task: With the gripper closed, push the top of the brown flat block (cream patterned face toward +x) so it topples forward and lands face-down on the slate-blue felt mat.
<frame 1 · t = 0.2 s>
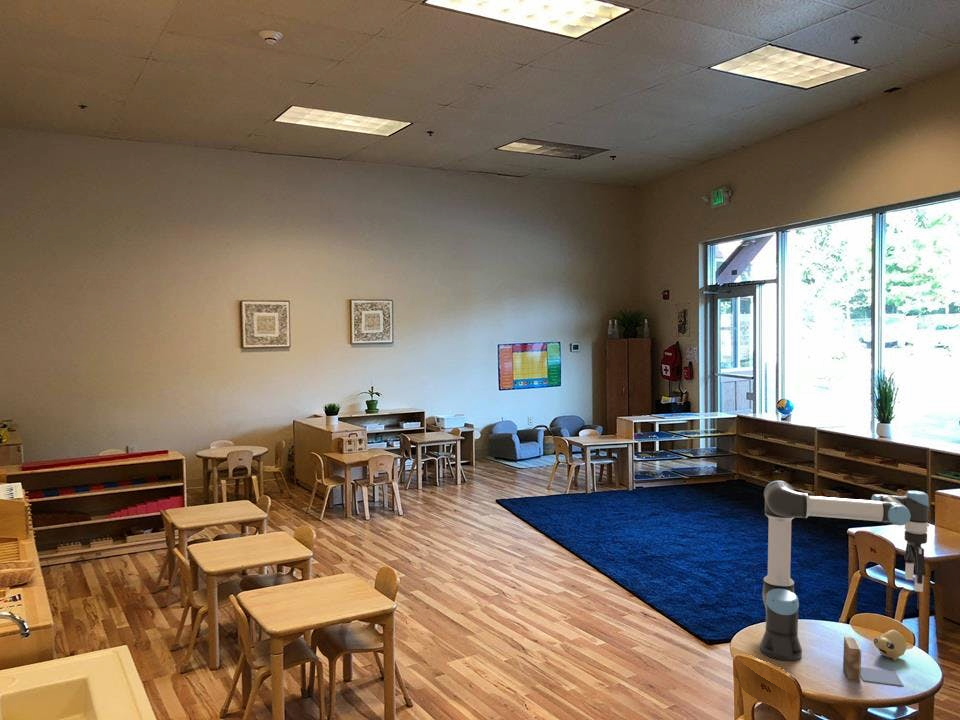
hand: (913, 585, 283), 28 cm above the table, fingers open, 13 cm apart
mat: (879, 676, 267), on the table
brown flat block: (851, 675, 268), on the table
beige rounded lump: (889, 658, 282), on the table
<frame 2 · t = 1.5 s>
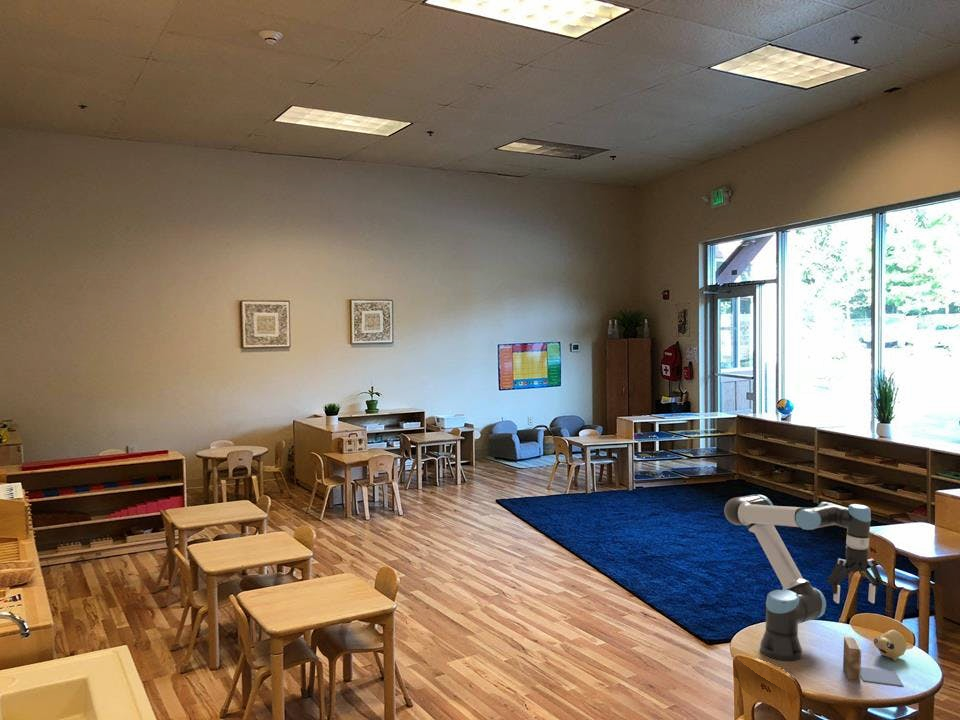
hand: (853, 602, 273), 25 cm above the table, fingers open, 13 cm apart
nothing on the table moved.
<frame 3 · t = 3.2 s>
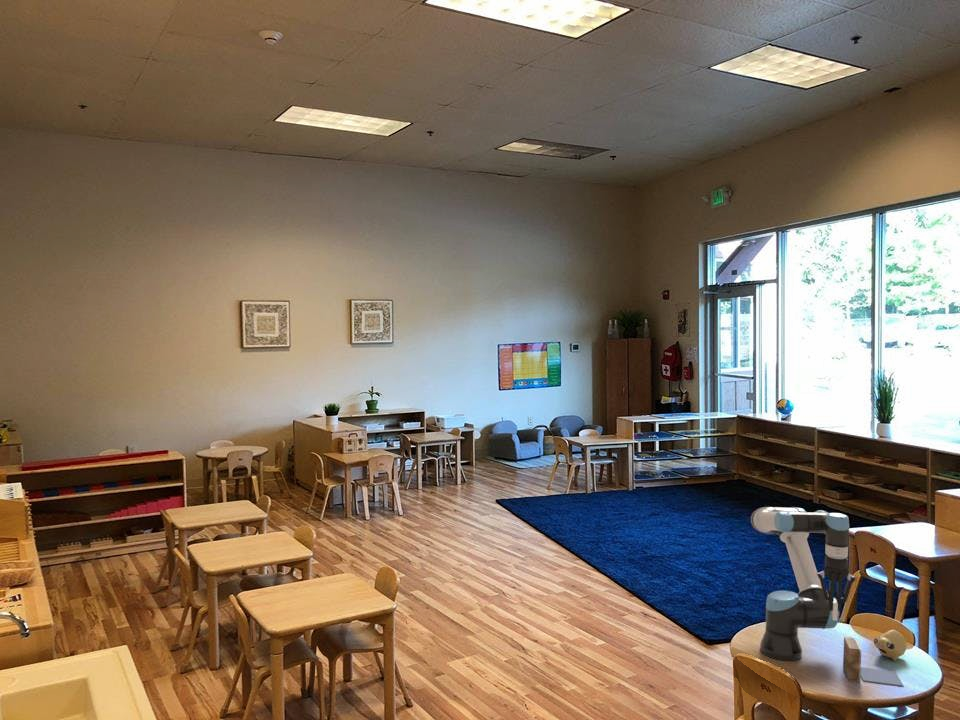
hand: (834, 619, 269), 20 cm above the table, fingers closed
nothing on the table moved.
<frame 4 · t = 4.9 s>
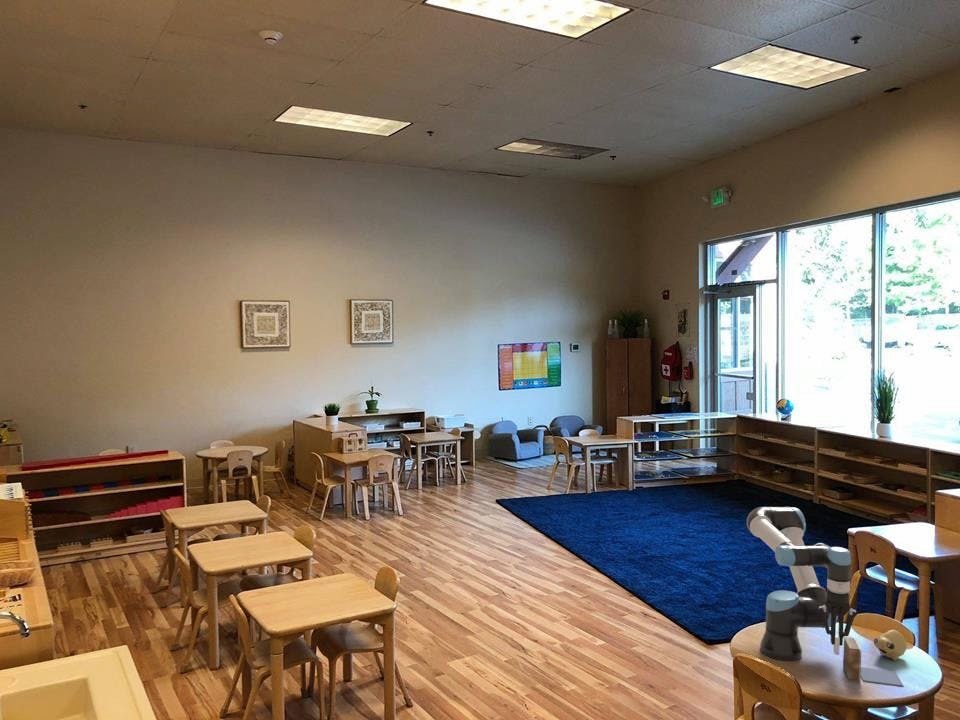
hand: (836, 653, 269), 8 cm above the table, fingers closed
nothing on the table moved.
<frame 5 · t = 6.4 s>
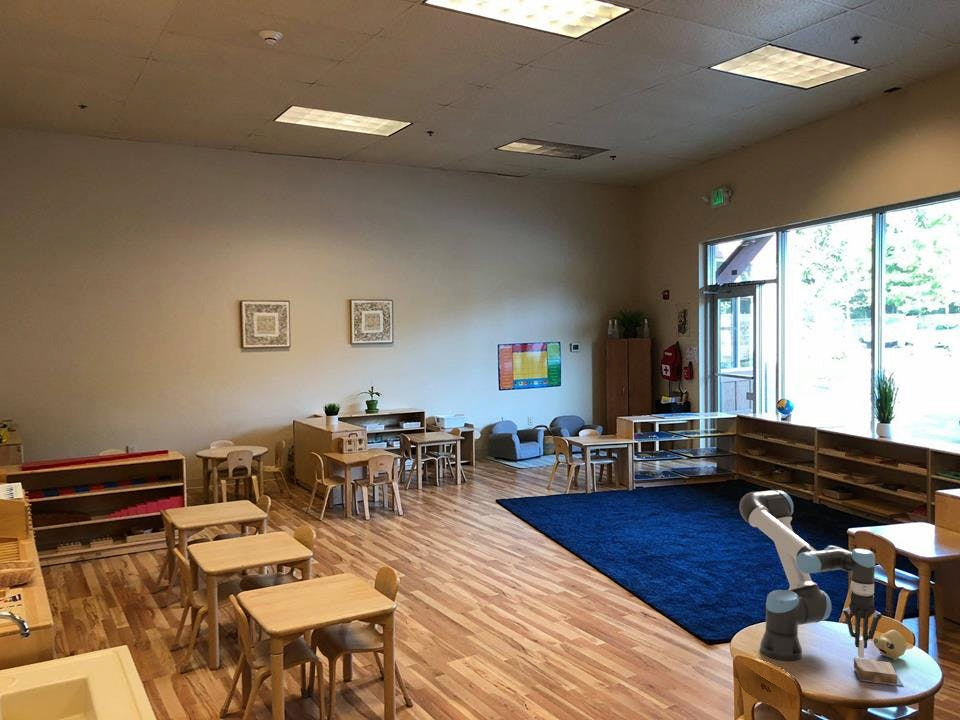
hand: (860, 656, 267), 8 cm above the table, fingers closed
brown flat block: (856, 669, 267), point 2 cm above the table, tilted 90°, touching mat
everything else where it was.
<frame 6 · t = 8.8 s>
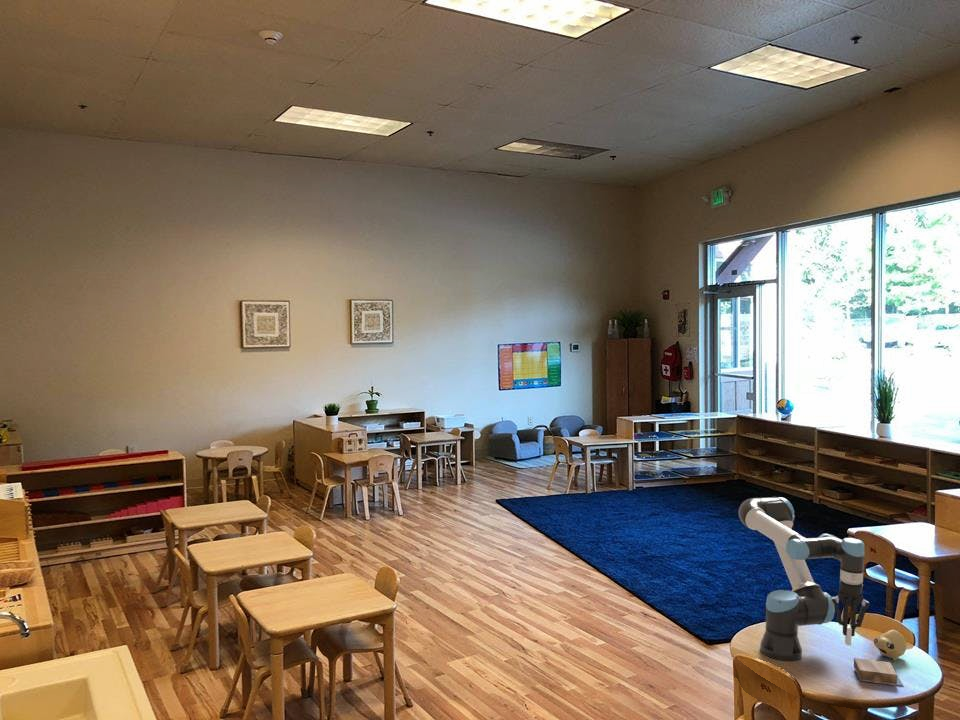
hand: (847, 643, 268), 11 cm above the table, fingers closed
nothing on the table moved.
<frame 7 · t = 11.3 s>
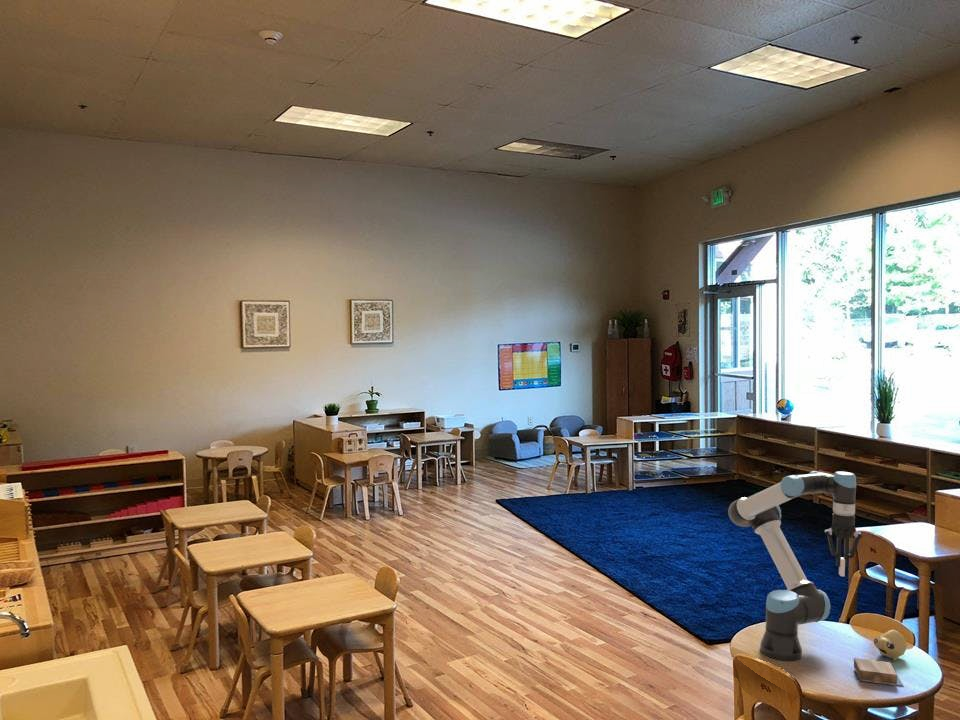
hand: (841, 575, 275), 34 cm above the table, fingers closed
nothing on the table moved.
at the end: brown flat block tilted 90°; brown flat block inside the target area (7.9 cm from its centre), point 2.4 cm above the table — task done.
